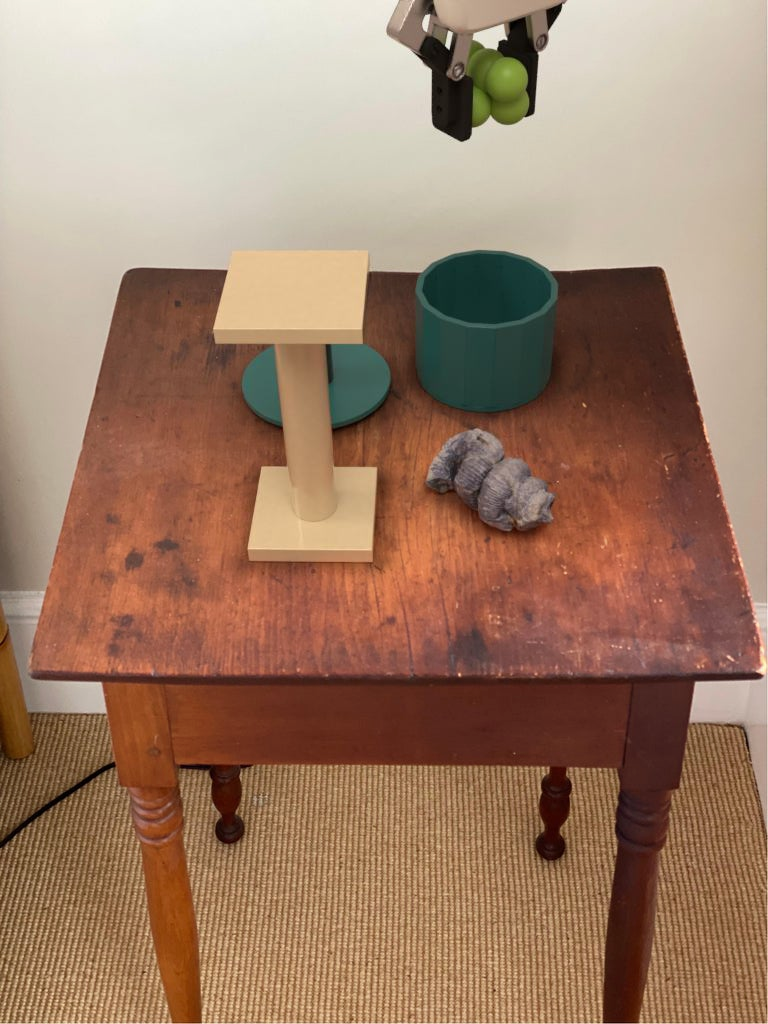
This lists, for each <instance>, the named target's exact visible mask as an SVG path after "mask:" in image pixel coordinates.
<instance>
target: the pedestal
mask: <svg viewBox="0 0 768 1024" xmlns="http://www.w3.org/2000/svg"><path fill="white" fill-rule="evenodd" d="M370 267H371V263H370V249H362V250H361V249H347V250H345V249H341V250H340V249H337V250H336V249H335V250H333V249H331V250H330V249H323V250H322V249H321V250H320V249H317V250H316V249H314V250H313V249H308V250H307V249H305V250H304V249H303V250H302V249H301V250H298V249H297V250H296V249H295V250H294V249H293V250H292V249H290V250H287V249H286V250H285V249H284V250H283V249H282V250H281V249H280V250H278V249H277V250H272V249H271V250H265V249H264V250H262V249H261V250H232V252H231V257H230V260H229V264H228V269H227V273H226V277H225V281H224V284H223V288H222V292H221V297H220V299H219V304H218V308H217V312H216V316H215V320H214V323H213V328H212V331H213V337H214V338H213V339H214V344H216V345H273V346H274V352H275V361H276V370H277V379H278V388H279V397H280V406H281V415H282V424H283V427H282V432H283V441H284V448H285V449H284V450H285V458H286V466H284V465H282V466H278V465H275V466H274V465H272V466H271V465H269V466H268V465H264V466H261V467H260V473H259V479H258V484H257V490H256V495H255V496H256V497H255V502H254V508H253V512H252V519H251V524H250V531H249V535H248V542H247V556H248V561H249V562H274V563H275V562H277V563H278V562H281V563H282V562H283V563H286V562H287V563H291V562H294V563H373V561H374V553H375V552H374V550H375V534H376V516H377V503H378V502H377V501H378V500H377V499H378V483H379V473H378V472H379V471H378V467H377V466H335V456H334V454H335V453H334V443H333V429H332V426H331V412H330V399H329V385H328V371H327V358H326V344H364V338H365V337H364V336H365V335H364V334H365V325H366V323H365V322H366V313H367V302H368V291H369V290H368V289H369V278H370Z"/></svg>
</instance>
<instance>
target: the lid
mask: <svg viewBox="0 0 768 1024" xmlns="http://www.w3.org/2000/svg"><path fill="white" fill-rule="evenodd" d="M326 358H327V371H328V385H329V399H330V412H331V426H332V430H333V429H337V428H342V427H345V426H348V425H352V424H354V423H356V422H358V421H361V420H362V419H364V418H367V417H368V416H370V414H372V413H374V412H375V411H376V410H377V409H378V408H379V407H381V405H382V404H383V403H384V402H385V400H386V399H387V396H388V395H389V393H390V389H391V386H392V385H391V384H392V376H391V370H390V367H389V364H388V362H387V361H386V360H385V358H384V357H383V355H381V354H380V353H379V352H378V351H377V350H376V349H374V348H373V347H371V346H369V345H367V344H366V343H363V344H326ZM241 391H242V397H243V399H244V402H245V403H246V404H247V406H248V407H249V409H250V410H251V411H252V412H253V413H254V414H256V415H257V416H258V417H259V418H261V419H263V420H264V421H266V422H268V423H270V424H273V425H275V426H279V427H281V428H283V424H282V415H281V406H280V397H279V388H278V379H277V370H276V361H275V352H274V345H271V346H270V347H267V348H266V349H265V350H263V351H261V352H260V353H258V355H257V356H255V357H254V358H253V359H252V360H251V361H250V362H249V363H248V365H247V366H246V368H245V370H244V372H243V374H242V379H241Z"/></svg>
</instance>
